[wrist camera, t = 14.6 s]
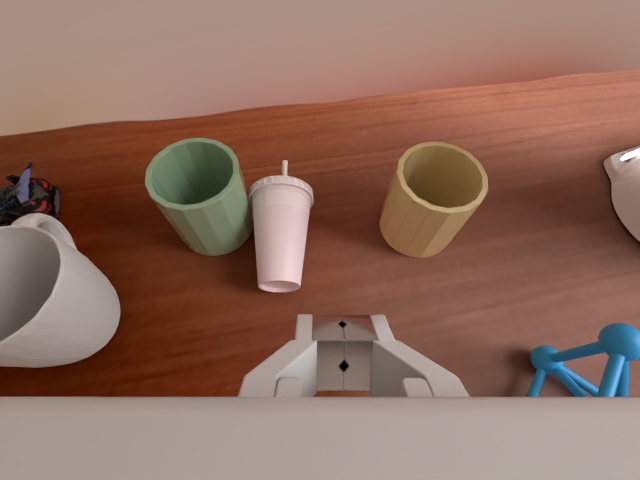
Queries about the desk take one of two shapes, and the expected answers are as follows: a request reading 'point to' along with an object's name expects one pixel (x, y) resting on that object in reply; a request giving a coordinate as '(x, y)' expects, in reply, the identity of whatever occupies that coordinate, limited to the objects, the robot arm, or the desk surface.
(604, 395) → the molecular structure
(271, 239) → the smoothie
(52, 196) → the toy car
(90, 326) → the mug
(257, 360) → the desk surface
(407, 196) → the tan cup
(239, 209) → the sage cup
